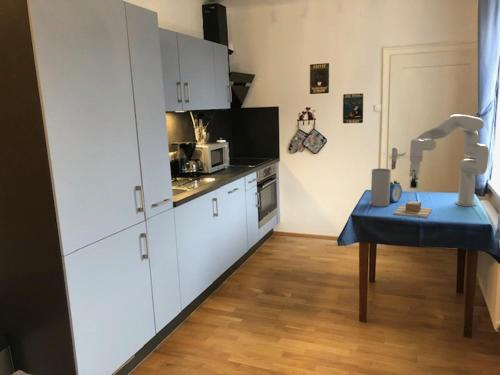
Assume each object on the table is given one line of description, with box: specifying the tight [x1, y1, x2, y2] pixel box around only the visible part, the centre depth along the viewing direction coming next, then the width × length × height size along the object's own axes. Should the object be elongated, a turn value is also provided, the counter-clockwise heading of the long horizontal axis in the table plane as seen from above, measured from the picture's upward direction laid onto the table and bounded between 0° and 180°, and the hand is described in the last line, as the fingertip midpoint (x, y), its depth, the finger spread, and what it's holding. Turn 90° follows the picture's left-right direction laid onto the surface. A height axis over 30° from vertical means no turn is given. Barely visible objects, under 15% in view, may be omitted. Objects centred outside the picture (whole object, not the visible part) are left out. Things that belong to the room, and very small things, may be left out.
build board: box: [393, 200, 433, 219], centre depth 267 cm, size 20×20×6 cm
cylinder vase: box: [370, 168, 392, 208], centre depth 286 cm, size 12×12×25 cm
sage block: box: [409, 179, 420, 190], centre depth 264 cm, size 5×5×5 cm
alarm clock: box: [389, 180, 403, 203], centre depth 295 cm, size 13×6×15 cm, turn 128°
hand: (414, 186), depth 264 cm, fingers closed on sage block, 4 cm apart
